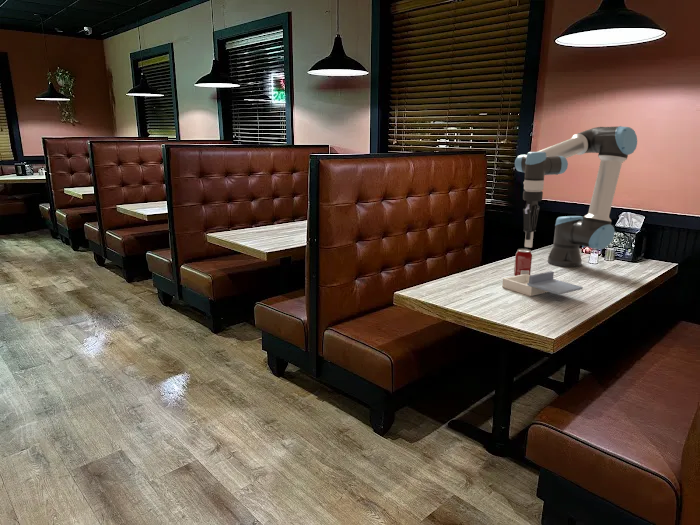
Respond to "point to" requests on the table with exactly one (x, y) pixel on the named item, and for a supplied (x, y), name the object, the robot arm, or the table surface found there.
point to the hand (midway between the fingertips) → (528, 246)
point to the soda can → (522, 262)
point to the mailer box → (521, 285)
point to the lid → (551, 283)
